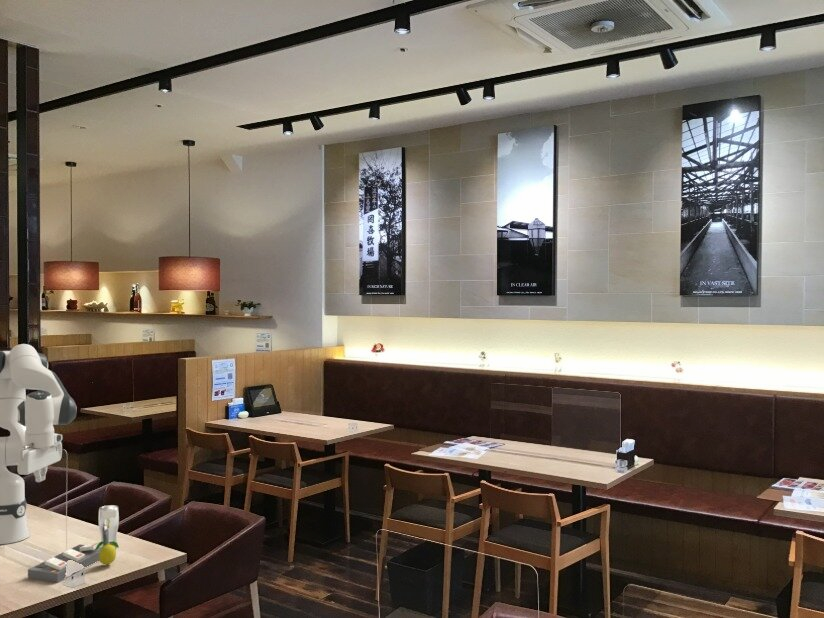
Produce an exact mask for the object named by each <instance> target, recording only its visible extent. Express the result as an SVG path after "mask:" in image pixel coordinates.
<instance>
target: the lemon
mask: <svg viewBox="0 0 824 618" xmlns="http://www.w3.org/2000/svg"><path fill="white" fill-rule="evenodd" d="M104 542H105V541H101V540H100V541H99V542H98V543H99V544H98V545H97V547H96V549H95V550H97V549H98V548H99V547H100V546H101V545H102V544H103V543H104ZM109 543H110V544H108V537H107V544H106V545H104V546H103V547H102V548H101V549H100V552H99V561H98V562H100V563H101V564H102V565H105V566H107V565H108V566H109V565H110V564H112V563H114V561H115V560H116V556H117V550H116V549H119V544H118V542H117V543H116V542H114V541H113V542H109ZM112 545H113V546H112ZM114 547H117V548H116V549H115V548H114Z"/></svg>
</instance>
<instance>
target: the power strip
mask: <svg viewBox="0 0 824 618" xmlns="http://www.w3.org/2000/svg"><path fill="white" fill-rule="evenodd" d="M84 545H85V544H77V545H75V546H73V547H72V548H70V549H73V550H75V551H78V552H80V553H83V554H85V557H84V558H83V559H81V560H79V561H75V562H77V563H79V564H82V565H83V566H84V567H87V566H88V567H90V566H92V565H94V564H96V563H97V561H98V562H100V561H99V552H100V549H101V548H102V547H99V548H98V549H97V550H95V549H93V550H86V551H80V547H82V546H84ZM54 557H55V558H57V559H60V560H62V561H64V562H67V561H68V560H72V559H70V558H67V557H65V556H63V552H61V553H59V554H57V555H55V556H54ZM51 558H52V557H50V558H49V559H51ZM49 559H47V560H49ZM47 560H45V561H43V562H40V563H37V564H36V565H34V566H32V567H30V568H28V569H27V578H28V579H29V580H37V581H44V582H49V583H57V584H58V583H60V582H62V581H64V580H65V579H64V578H65V573H66V567H65V568H63V569H61V570H57V569H55V568H53V567H50V566H48V565H45V562H46V561H47ZM73 561H74V560H73ZM95 562H96V563H95ZM93 563H94V564H93ZM91 564H92V565H91ZM89 565H90V566H89ZM88 567H87V568H88Z"/></svg>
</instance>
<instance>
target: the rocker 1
mask: <svg viewBox="0 0 824 618" xmlns="http://www.w3.org/2000/svg"><path fill="white" fill-rule="evenodd" d="M50 558H51V559H50ZM50 558H49V560H48V559H47V561H46V560H45V561H46V562H45V565H48V566H50V567H53V568H55V569H57V570H61V569H63V568H65V567H66V566H67V564H68V563H67V562H64V561H62V560H60V559H57V558H55V556H52V557H50Z"/></svg>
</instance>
